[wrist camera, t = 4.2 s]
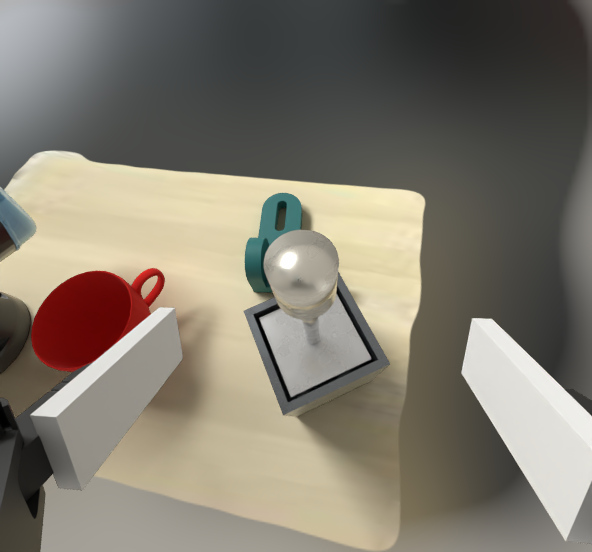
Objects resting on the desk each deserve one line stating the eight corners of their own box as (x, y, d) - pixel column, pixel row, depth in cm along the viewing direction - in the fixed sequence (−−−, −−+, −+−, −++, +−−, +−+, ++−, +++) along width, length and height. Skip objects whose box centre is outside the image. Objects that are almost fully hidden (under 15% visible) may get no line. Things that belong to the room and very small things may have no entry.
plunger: (260, 319, 33) (202, 231, 18) (331, 287, 34) (336, 176, 19) (291, 397, 30) (253, 372, 14) (370, 359, 31) (417, 296, 15)
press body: (257, 319, 47) (232, 282, 34) (323, 290, 48) (322, 243, 35) (296, 416, 41) (283, 415, 28) (370, 381, 42) (390, 363, 29)
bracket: (296, 293, 48) (291, 271, 41) (254, 292, 49) (242, 270, 42) (303, 201, 56) (300, 169, 49) (266, 201, 57) (258, 169, 50)
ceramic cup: (205, 317, 48) (177, 293, 39) (112, 400, 44) (57, 395, 35) (160, 266, 52) (125, 234, 43) (72, 337, 48) (14, 318, 39)
